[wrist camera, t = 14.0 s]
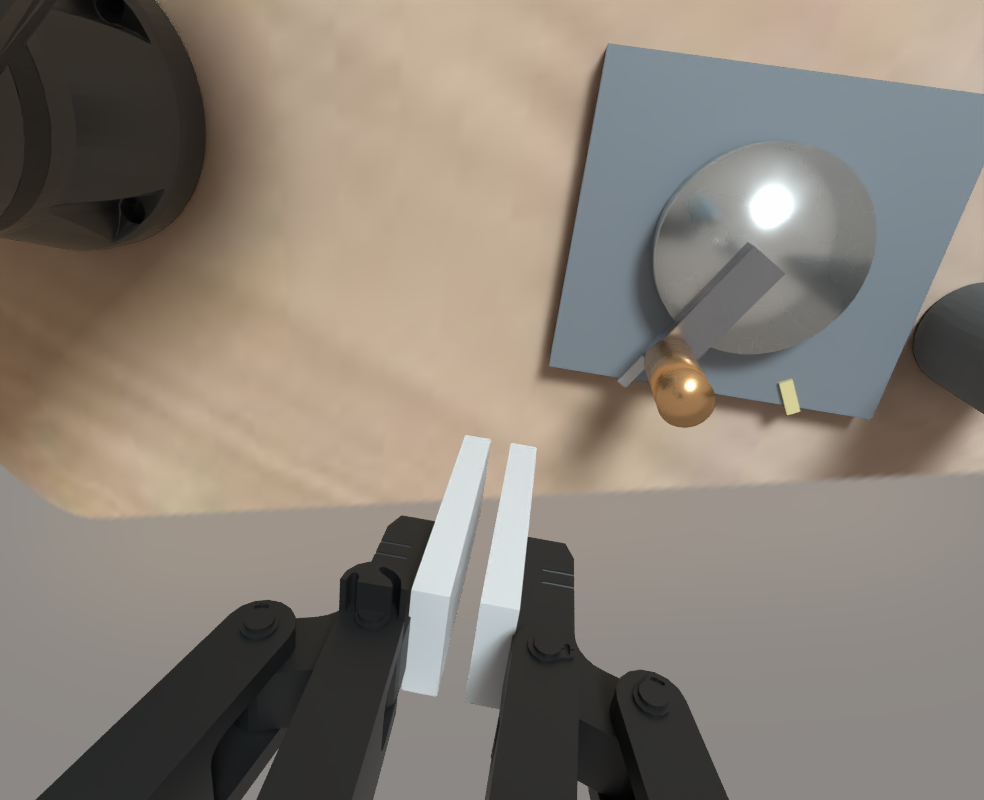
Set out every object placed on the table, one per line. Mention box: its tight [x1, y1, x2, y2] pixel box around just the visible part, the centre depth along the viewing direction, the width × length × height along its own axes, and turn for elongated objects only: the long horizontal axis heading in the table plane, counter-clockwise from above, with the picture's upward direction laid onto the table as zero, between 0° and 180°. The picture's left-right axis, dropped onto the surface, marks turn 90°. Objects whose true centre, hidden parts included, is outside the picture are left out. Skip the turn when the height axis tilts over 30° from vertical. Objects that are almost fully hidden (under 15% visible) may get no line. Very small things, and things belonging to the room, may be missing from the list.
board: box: [549, 43, 984, 420], centre depth 31 cm, size 18×16×2 cm
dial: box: [644, 141, 877, 428], centre depth 27 cm, size 10×12×8 cm
